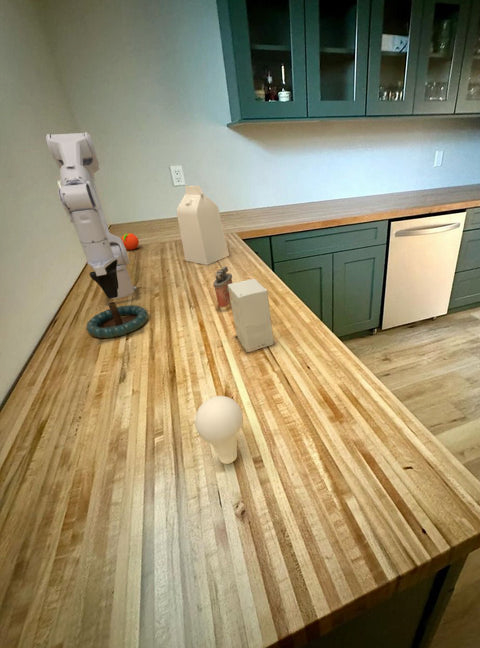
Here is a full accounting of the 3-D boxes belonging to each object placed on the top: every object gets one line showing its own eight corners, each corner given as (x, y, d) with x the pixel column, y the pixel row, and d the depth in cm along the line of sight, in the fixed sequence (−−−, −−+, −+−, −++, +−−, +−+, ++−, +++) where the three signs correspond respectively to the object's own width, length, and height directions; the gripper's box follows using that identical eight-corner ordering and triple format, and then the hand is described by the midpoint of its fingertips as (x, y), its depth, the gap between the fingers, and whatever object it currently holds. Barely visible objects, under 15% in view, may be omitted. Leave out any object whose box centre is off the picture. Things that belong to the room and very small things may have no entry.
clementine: (135, 252, 143) (130, 235, 140) (119, 253, 143) (114, 236, 140) (143, 246, 150) (138, 230, 146) (128, 247, 150) (123, 231, 147)
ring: (91, 320, 87) (87, 311, 85) (148, 307, 91) (145, 299, 90) (85, 345, 76) (81, 336, 74) (150, 330, 80) (147, 321, 79)
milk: (229, 255, 131) (216, 183, 118) (207, 264, 123) (191, 189, 110) (207, 251, 137) (193, 183, 124) (185, 260, 129) (168, 188, 116)
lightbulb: (210, 445, 50) (195, 388, 45) (251, 440, 51) (240, 384, 45) (204, 481, 45) (185, 422, 40) (249, 476, 45) (237, 417, 40)
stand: (102, 325, 86) (92, 300, 82) (140, 317, 89) (131, 292, 85) (100, 342, 79) (88, 315, 75) (141, 332, 82) (132, 306, 78)
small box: (274, 344, 73) (268, 290, 67) (246, 353, 71) (237, 297, 65) (261, 328, 80) (254, 277, 73) (236, 336, 78) (226, 283, 71)
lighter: (227, 311, 89) (220, 275, 84) (215, 310, 90) (208, 275, 85) (238, 298, 96) (232, 264, 91) (227, 297, 96) (221, 264, 92)
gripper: (111, 244, 74) (130, 300, 80) (114, 230, 85) (130, 280, 92) (75, 250, 71) (98, 307, 78) (82, 235, 83) (102, 286, 90)
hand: (113, 293), depth 85 cm, fingers open, 5 cm apart
